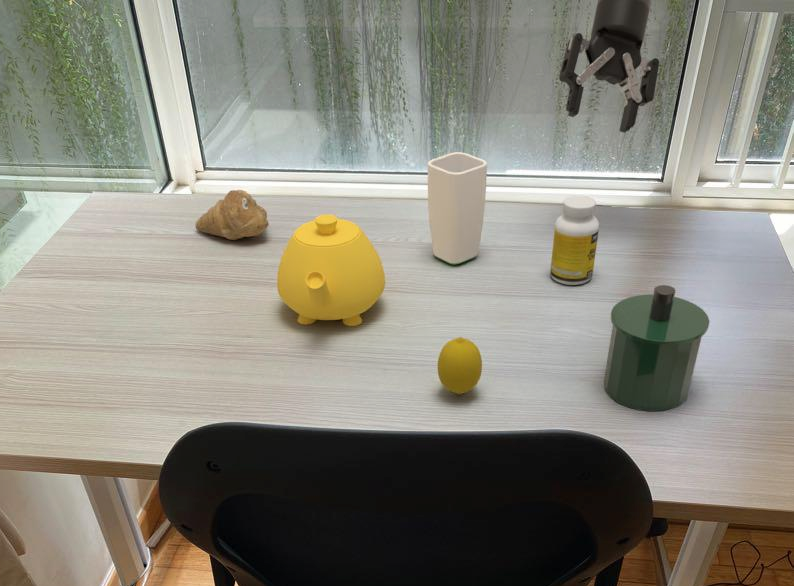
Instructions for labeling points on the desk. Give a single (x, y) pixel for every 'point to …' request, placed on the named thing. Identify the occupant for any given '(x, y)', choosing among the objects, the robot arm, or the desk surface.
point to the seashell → (234, 217)
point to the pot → (649, 372)
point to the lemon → (459, 365)
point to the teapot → (330, 272)
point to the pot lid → (660, 318)
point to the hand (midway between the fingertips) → (599, 123)
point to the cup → (456, 205)
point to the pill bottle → (575, 241)
